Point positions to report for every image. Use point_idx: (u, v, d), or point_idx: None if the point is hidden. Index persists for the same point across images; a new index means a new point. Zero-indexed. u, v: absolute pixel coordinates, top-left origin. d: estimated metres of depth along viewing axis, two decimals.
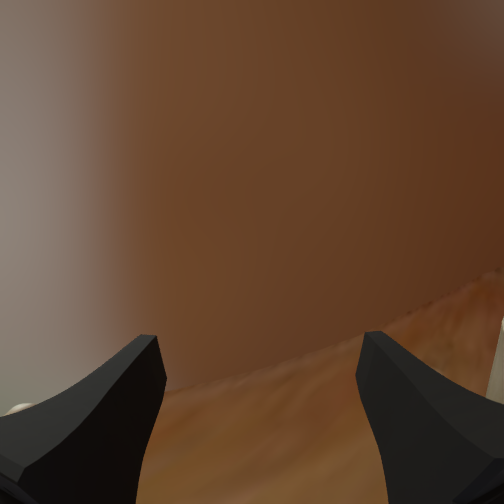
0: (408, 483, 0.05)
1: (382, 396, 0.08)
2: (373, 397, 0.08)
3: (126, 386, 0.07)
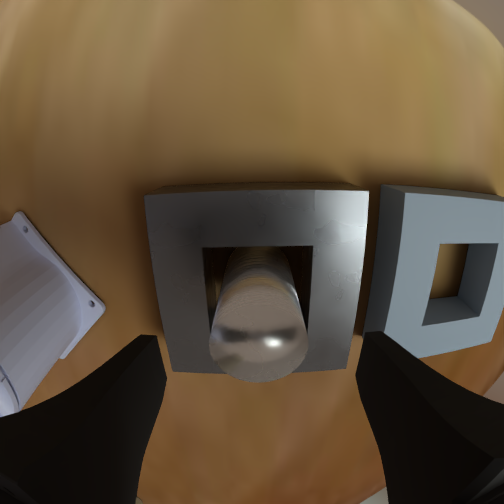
0: (408, 483, 0.05)
1: (382, 396, 0.08)
2: (373, 397, 0.08)
3: (126, 386, 0.07)
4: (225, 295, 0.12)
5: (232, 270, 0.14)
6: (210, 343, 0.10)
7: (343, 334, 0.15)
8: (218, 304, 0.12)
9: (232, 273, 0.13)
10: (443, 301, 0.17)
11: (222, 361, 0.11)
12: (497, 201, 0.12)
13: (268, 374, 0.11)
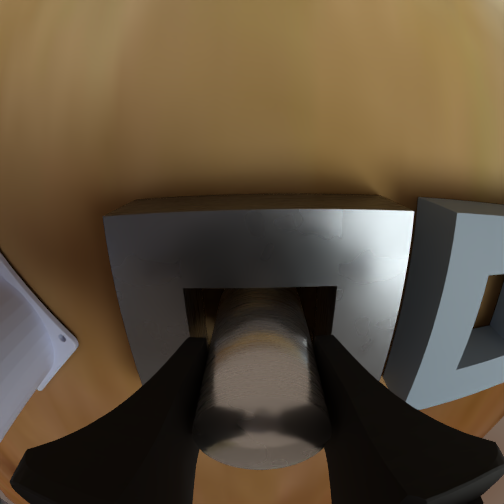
0: (344, 498, 0.05)
1: (327, 403, 0.08)
2: None
3: (186, 392, 0.07)
4: (214, 364, 0.08)
5: (225, 318, 0.10)
6: (194, 434, 0.07)
7: None
8: (205, 374, 0.08)
9: (225, 324, 0.09)
10: (476, 333, 0.13)
11: (212, 451, 0.07)
12: None
13: (274, 462, 0.07)
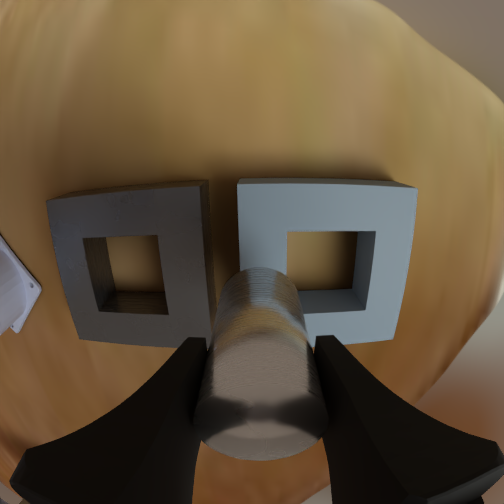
0: (345, 498, 0.05)
1: (328, 403, 0.08)
2: None
3: (185, 392, 0.07)
4: (215, 356, 0.08)
5: (226, 312, 0.10)
6: (195, 423, 0.07)
7: (200, 315, 0.17)
8: (206, 366, 0.08)
9: (225, 318, 0.10)
10: (330, 293, 0.20)
11: (212, 441, 0.07)
12: (368, 185, 0.15)
13: (272, 453, 0.07)
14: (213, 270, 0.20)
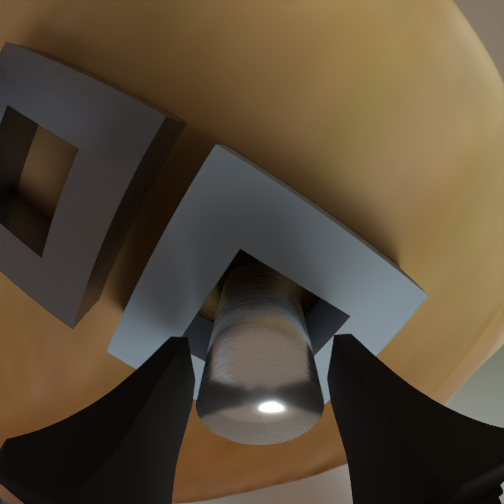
0: (369, 493, 0.05)
1: (348, 401, 0.08)
2: (341, 401, 0.08)
3: (163, 390, 0.07)
4: (217, 343, 0.09)
5: (227, 303, 0.11)
6: (198, 406, 0.07)
7: (74, 282, 0.11)
8: (208, 352, 0.09)
9: (227, 308, 0.10)
10: None
11: (214, 424, 0.08)
12: (378, 256, 0.10)
13: (271, 437, 0.08)
14: (125, 236, 0.13)
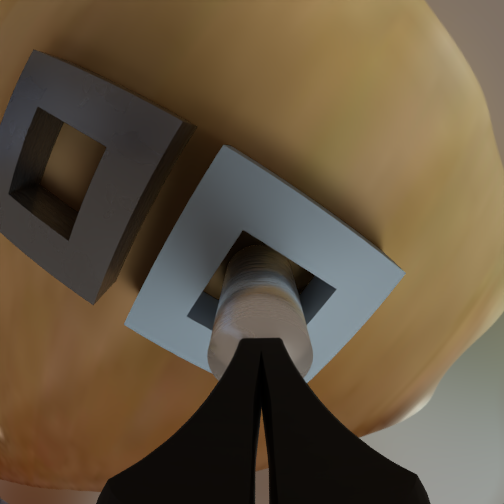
0: None
1: (265, 407, 0.08)
2: (264, 406, 0.08)
3: (256, 394, 0.07)
4: (225, 304, 0.11)
5: (232, 276, 0.13)
6: (208, 356, 0.10)
7: (99, 261, 0.13)
8: (217, 313, 0.11)
9: (232, 280, 0.13)
10: None
11: (221, 374, 0.10)
12: (359, 237, 0.12)
13: None
14: (142, 223, 0.15)
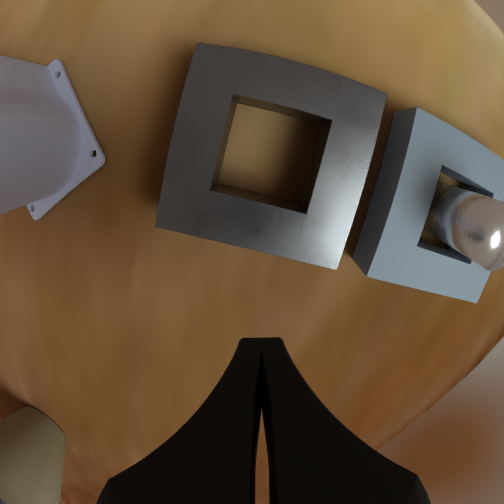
0: None
1: (265, 407, 0.08)
2: (264, 406, 0.08)
3: (256, 394, 0.07)
4: (463, 212, 0.12)
5: (442, 201, 0.14)
6: (477, 245, 0.11)
7: (342, 223, 0.15)
8: (459, 222, 0.13)
9: (446, 202, 0.14)
10: (435, 246, 0.18)
11: (482, 258, 0.11)
12: (495, 154, 0.13)
13: (503, 259, 0.11)
14: None
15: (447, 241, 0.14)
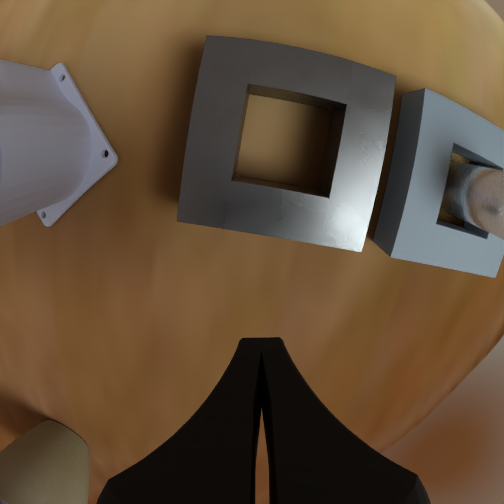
0: None
1: (265, 407, 0.08)
2: (264, 406, 0.08)
3: (256, 394, 0.07)
4: (478, 186, 0.12)
5: (456, 178, 0.14)
6: (495, 216, 0.11)
7: (364, 205, 0.15)
8: (475, 196, 0.12)
9: (460, 178, 0.14)
10: (451, 224, 0.17)
11: (501, 229, 0.11)
12: (501, 130, 0.13)
13: None
14: None
15: (464, 217, 0.14)
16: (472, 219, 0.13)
